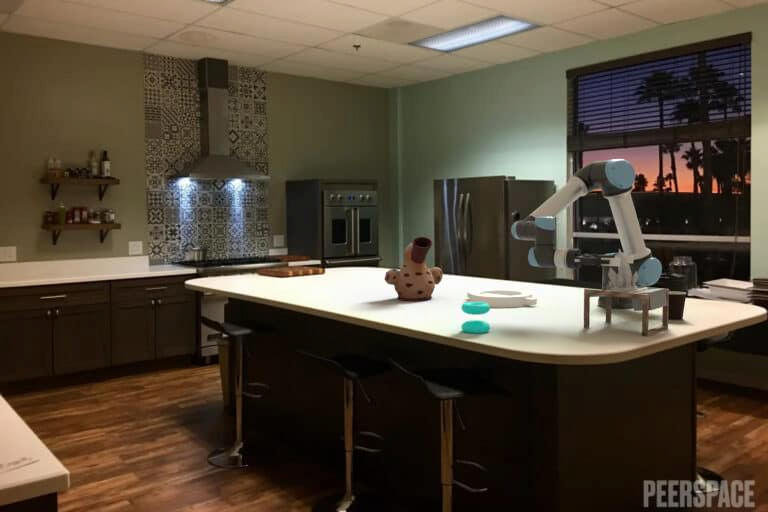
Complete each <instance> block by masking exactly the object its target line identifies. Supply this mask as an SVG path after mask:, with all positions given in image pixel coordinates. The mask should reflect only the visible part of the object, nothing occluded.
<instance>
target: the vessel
mask: <svg viewBox="0 0 768 512" xmlns="http://www.w3.org/2000/svg"><path fill="white" fill-rule="evenodd" d="M432 246H433V241H432V239H430V238H428V237H426V236H417V237H415V238H414V239H412V242H410V243H409V244H408V245H407V246H406V247H405V248H404V250H403V257H404V263H403V265H402V267H401V268H400V270H398V269H396V268H391V269H389V270H387V271H386V272H385V276H384V281H385V282H386V283H387V284H388V285H391V286H393V287H394V291H395V293H396V294H397V298H396V299H397V300H400V301H406V302H410V301H411V302H414V301H416V302H418V301H427V300H431V299H432V298H433V296H432V295H433V293H434V290H435V288H436V285H440V283H441V282H442V279H443V276H444V274H443V271H442V269H441V268H440V267H438V266H433V267H430V268H429V267H428V266H427V264H426V258H427V255H428V253H429V251H430V249H431V247H432Z"/></svg>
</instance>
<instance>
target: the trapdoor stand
mask: <svg viewBox="0 0 768 512" xmlns="http://www.w3.org/2000/svg"><path fill="white" fill-rule="evenodd" d="M637 287H638V288H646V287H647V288H648V289H662V287H661V288H659V287H649V286H637ZM610 288H611V287H610V285H609V284H607V285H606V290H610ZM665 290H666V298H667V306H664V307H662V316H661V317H662V318H661V321H662V324H661V325H658V326H655V327H653V328H650V329H649V317H650V316H649V311H650V310H649V294H640V293H628V292H616V291H604V290H602V289H591V288H584V289H583V329H590V321H591V319H590V312H591V310H590V309H591V307H590V306H591V304H590V303H591V297H590V294H593V295H604V296H606V307H605V322H608V323H611V322H612V308H611V299H612V296H615V297H626V298H637V299H643V303H642V311H641V315H642V317H641V321H642V322H641V336H642V337H648V336H651V335H653V334H656V333H660V332H662V331H666V330H667V329H669V319H668V308H669V291H670V289H669V288H665Z"/></svg>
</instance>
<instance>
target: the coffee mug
mask: <svg viewBox="0 0 768 512" xmlns="http://www.w3.org/2000/svg"><path fill="white" fill-rule="evenodd" d="M686 298H687V292H684V291H677V290H676V291H673V290H672V291H671V290H669V308H668V321H669V320H671V321H682V320H683V318H684V312H685V305H686Z"/></svg>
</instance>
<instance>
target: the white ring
mask: <svg viewBox="0 0 768 512" xmlns="http://www.w3.org/2000/svg"><path fill="white" fill-rule="evenodd" d="M466 297H467V298H469V302H484V303H487V304H489V306H490V308H518V307H528V306H536V305H538V303H537V301H538V298H533V293H532V292H531V291H527V290H523V289H511V288H509V289H507V288H492V289H491V288H489V289H487V288H485V289H479V290H478V289H476V290H472V291H468V292H467V294H466Z"/></svg>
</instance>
